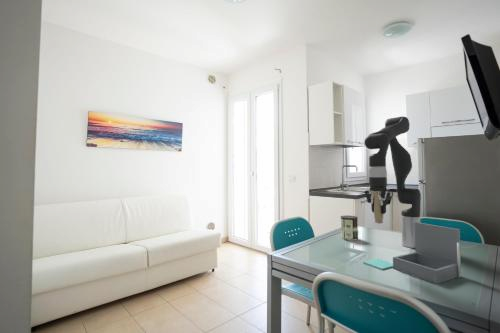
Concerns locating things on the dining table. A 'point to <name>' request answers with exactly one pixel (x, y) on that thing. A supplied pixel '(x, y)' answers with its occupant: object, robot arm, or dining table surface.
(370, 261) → the pad
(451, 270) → the case
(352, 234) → the coffee can
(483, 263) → the dining table surface
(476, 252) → the dining table surface
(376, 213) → the handle
